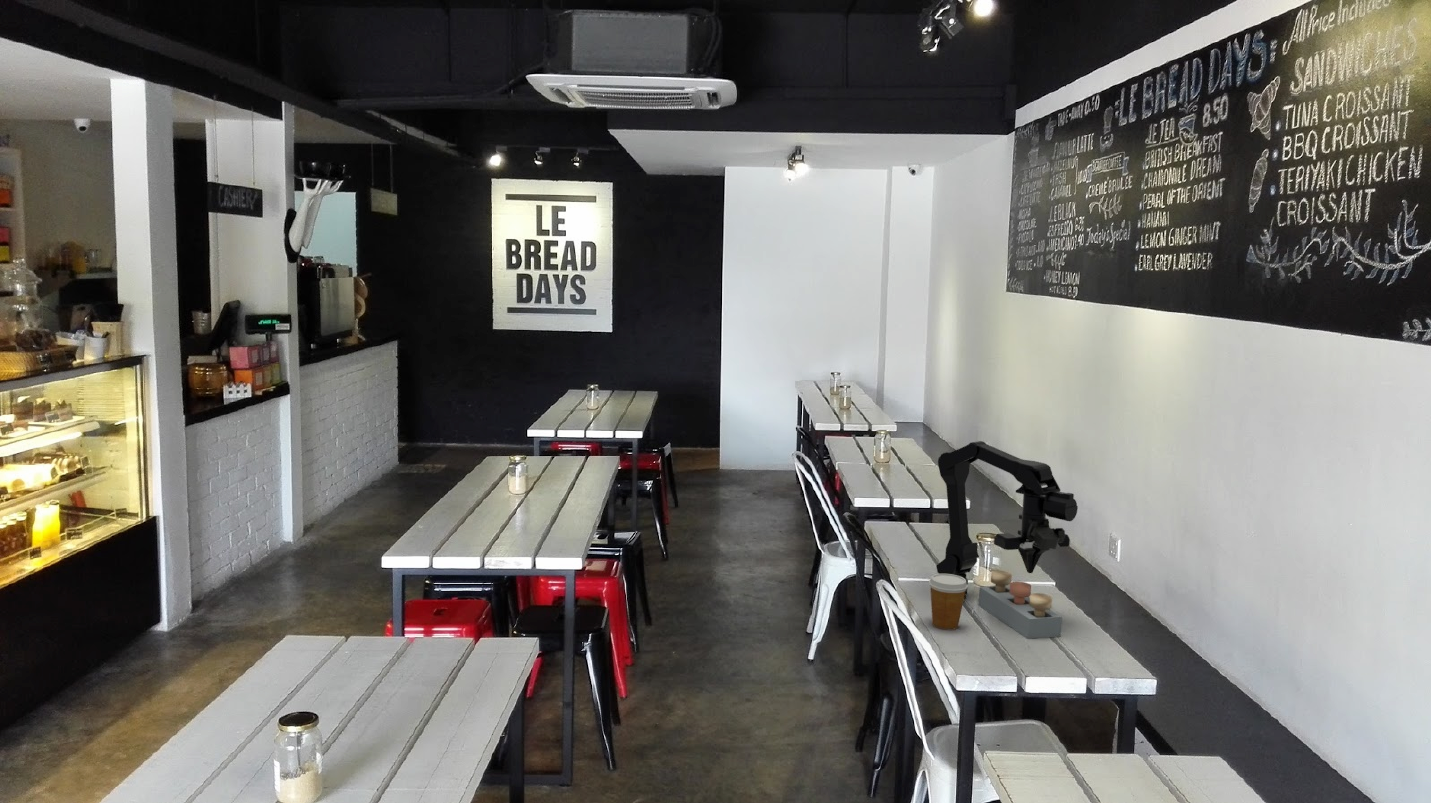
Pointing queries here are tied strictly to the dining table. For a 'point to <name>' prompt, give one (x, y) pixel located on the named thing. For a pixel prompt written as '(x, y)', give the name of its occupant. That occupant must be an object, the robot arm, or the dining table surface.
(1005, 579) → the knob
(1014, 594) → the knob middle
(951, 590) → the disposable coffee cup
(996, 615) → the grey peg holder block
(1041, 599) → the knob
